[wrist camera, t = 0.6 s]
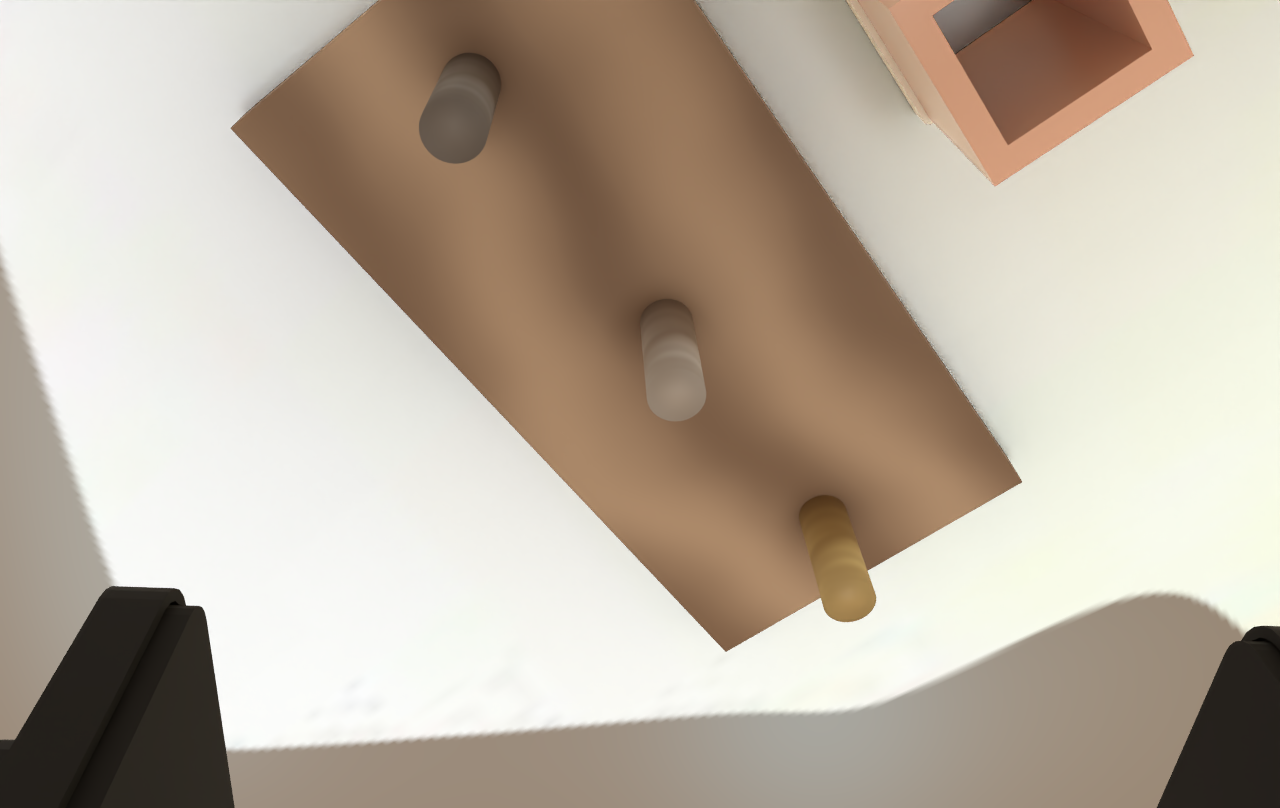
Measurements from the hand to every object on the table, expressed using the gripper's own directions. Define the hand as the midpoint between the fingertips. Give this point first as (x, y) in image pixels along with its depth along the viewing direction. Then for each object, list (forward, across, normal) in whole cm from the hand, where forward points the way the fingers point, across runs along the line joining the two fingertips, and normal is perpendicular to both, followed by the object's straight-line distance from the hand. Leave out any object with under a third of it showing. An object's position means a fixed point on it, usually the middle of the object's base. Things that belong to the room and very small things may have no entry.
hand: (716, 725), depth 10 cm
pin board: (+24, -2, +7) cm, 25 cm away
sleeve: (+24, -9, -3) cm, 26 cm away
